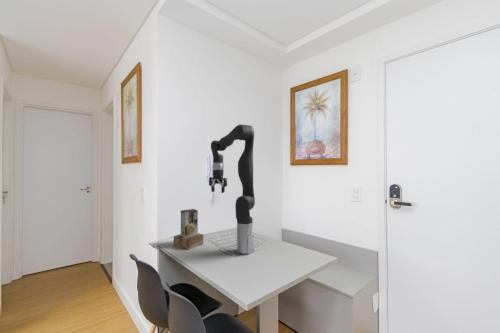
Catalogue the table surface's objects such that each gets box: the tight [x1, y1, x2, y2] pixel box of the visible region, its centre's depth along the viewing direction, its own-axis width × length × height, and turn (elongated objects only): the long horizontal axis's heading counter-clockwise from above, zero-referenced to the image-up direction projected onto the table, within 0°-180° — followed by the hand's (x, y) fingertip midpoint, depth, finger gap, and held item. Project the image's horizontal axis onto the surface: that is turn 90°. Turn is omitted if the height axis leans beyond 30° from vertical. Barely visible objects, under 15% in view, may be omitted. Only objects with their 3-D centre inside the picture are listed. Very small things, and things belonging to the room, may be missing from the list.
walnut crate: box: [173, 233, 204, 251], centre depth 153 cm, size 13×13×6 cm
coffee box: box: [180, 208, 199, 238], centre depth 153 cm, size 9×6×16 cm
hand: (217, 192), depth 168 cm, fingers open, 8 cm apart
